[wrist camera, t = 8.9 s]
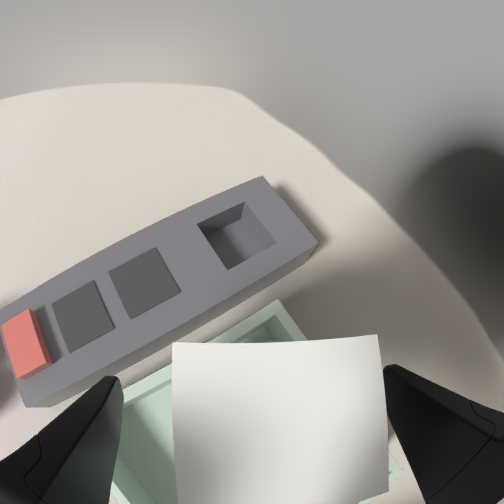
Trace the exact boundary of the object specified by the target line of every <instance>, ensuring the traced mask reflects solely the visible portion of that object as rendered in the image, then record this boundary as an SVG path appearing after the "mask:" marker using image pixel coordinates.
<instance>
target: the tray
mask: <svg viewBox="0 0 504 504" xmlns="http://www.w3.org/2000/svg"><path fill="white" fill-rule="evenodd" d="M294 341H308V340H307V338H306V337H305V336H304V334H303V333H302V332H301V330H300V329H299V327H298V326H297V325H296V323H295V322H294V321H293V319H292V318H291V316H290V315H289V314H288V312H287V311H286V309H285V308H284V307H283V305H282V304H281V303H280V301H279V300H278V299H276V300H275V301H273V302H272V303H270V304H269V305H267V306H266V307H264V308H262V309H261V310H259V311H258V312H256V313H255V314H253V315H251V316H250V317H248V318H247V319H245V320H243V321H242V322H240V323H239V324H237V325H235V326H234V327H232V328H230V329H229V330H227V331H226V332H224V333H222V334H221V335H219V336H217V337H216V338H214V339H212V340H211V341H209V342H207V343H272V342H294ZM122 391H123V395H124V404H123V413H122V423H121V434H120V442H119V447H118V452H117V457H116V462H115V468H114V473H113V479H112V485H111V491H110V493H111V494H112V496H113V497H114V498H115V499H116V501H117V502H118V503H119V504H178V496H177V486H176V474H175V461H174V444H173V421H172V363H171V364H169V365H167V366H166V367H164V368H162V369H160V370H158V371H157V372H155V373H153V374H151V375H149V376H147V377H146V378H144V379H142V380H140V381H138V382H136V383H134V384H133V385H131V386H129V387H127V388H125V389H123V390H122ZM402 471H403V469H402V467H401V466H400V465H399V463H398V462H397V461H396V459H395V458H394V457H393V455H392V454H391V453H390V451H389V484H390V483H391V482H392V481H393V480H394V479H395V478H396V477H397V476H398V475H399V474H400V473H401V472H402ZM375 497H376V496H375ZM375 497H372V498H369V499H366V500H363V501H360V502H357V503H354V504H369V503H370V502H371V501H372V500H373V499H374V498H375Z"/></svg>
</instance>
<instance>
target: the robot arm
mask: <svg viewBox="0 0 504 504" xmlns="http://www.w3.org/2000/svg"><path fill="white" fill-rule="evenodd" d="M383 380H384V389H385V399H386V411H387V415H388V418H389V420H390V422H391V425H392V427H393V429H394V431H395V433H396V436H397V438H398V440H399V442H400V444H401V446H402V449H403V451H404V453H405V455H406V458H407V460H408V462H409V464H410V467H411V469H412V471H413V474H414V476H415V478H416V481H417V483H418V485H419V488H420V490H421V493H422V495H423V498H424V500H425V503H426V504H504V413H502V412H499V411H496V410H494V409H491V408H488V407H486V406H483V405H481V404H479V403H476V402H474V401H472V400H469V399H467V398H465V397H463V396H461V395H459V394H457V393H454V392H452V391H450V390H448V389H446V388H444V387H442V386H440V385H438V384H435V383H433V382H431V381H429V380H427V379H425V378H423V377H421V376H419V375H417V374H415V373H413V372H411V371H409V370H407V369H405V368H403V367H401V366H399V365H397V364H392V365H387V366H385V367H384V369H383ZM123 404H124V395H123V391H122V388H121V384H120V380H119V378H118V377H116V376H109V375H106V376H104V377H103V378H102V379H101V380H100V381H98V382H97V383H96V384H95V385H94V386H93V387H91V388H90V389H89V390H88V391H87V392H85V393H84V394H83V395H82V396H81V397H80V398H78V399H77V400H76V401H75V402H74V403H73V404H71V405H70V406H69V407H68V408H67V409H66V410H64V411H63V412H62V413H61V414H60V415H58V416H57V417H56V418H55V419H54V420H53V421H51V422H50V423H49V424H48V425H47V426H46V427H44V428H43V429H42V430H41V431H40V432H39V433H38V435H37V434H36V435H35V436H34V437H33V438H31V439H30V440H29V441H28V442H26V443H25V444H24V445H23V446H21V447H20V448H19V449H18V450H16V451H15V452H13V453H12V454H10V455H9V456H7V457H6V458H4V459H3V460H1V461H0V504H109V497H110V491H111V485H112V479H113V473H114V468H115V462H116V457H117V452H118V447H119V442H120V434H121V423H122V413H123Z"/></svg>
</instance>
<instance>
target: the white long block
mask: <svg viewBox="0 0 504 504" xmlns="http://www.w3.org/2000/svg"><path fill="white" fill-rule="evenodd" d="M172 421H173V444H174V461H175V474H176V486H177V496H178V504H354V503H357V502H360V501H363V500H366V499H369V498H372V497H375V496H377V495H380V494H383V493H385V492H388V491H389V448H388V426H387V411H386V399H385V389H384V380H383V371H382V363H381V356H380V349H379V342H378V336H377V334H374V335H366V336H357V337H347V338H336V339H324V340H311V341H294V342H272V343H186V342H172Z"/></svg>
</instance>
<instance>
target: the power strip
mask: <svg viewBox="0 0 504 504" xmlns="http://www.w3.org/2000/svg"><path fill="white" fill-rule="evenodd" d="M317 245H318V241H317V240H316V239H315V238H314V236H313V235H312V234H311V233H310V232H309V230H308V229H307V228H306V227H305V225H304V224H303V223H302V222H301V221H300V219H299V218H298V217H297V216H296V215H295V213H294V212H293V211H292V210H291V209H290V207H289V206H288V205H287V204H286V203H285V201H284V200H283V199H282V198H281V197H280V196H279V194H278V193H277V192H276V191H275V190H274V189H273V187H272V186H271V185H270V184H269V183H268V182H267V181H266V179H265V178H264V177H263V176H260V177H257V178H255V179H252V180H250V181H247V182H245V183H243V184H240V185H238V186H235V187H233V188H231V189H228V190H226V191H224V192H221V193H219V194H217V195H215V196H212V197H210V198H208V199H206V200H203V201H201V202H199V203H197V204H194V205H192V206H190V207H188V208H186V209H184V210H181V211H179V212H177V213H175V214H173V215H171V216H169V217H167V218H164V219H162V220H160V221H158V222H156V223H154V224H152V225H150V226H148V227H146V228H144V229H142V230H140V231H138V232H136V233H134V234H132V235H130V236H128V237H126V238H124V239H122V240H120V241H118V242H117V243H115V244H113V245H111V246H109V247H107V248H105V249H103V250H101V251H100V252H98V253H96V254H94V255H92V256H90V257H89V258H87V259H85V260H83V261H81V262H80V263H78V264H76V265H74V266H72V267H71V268H69V269H67V270H65V271H64V272H62V273H60V274H59V275H57V276H55V277H53V278H52V279H50V280H48V281H47V282H45V283H43V284H42V285H40V286H38V287H37V288H35V289H34V290H32V291H30V292H29V293H27V294H26V295H24V296H22V297H21V298H19V299H18V300H16V301H15V302H13V303H11V304H10V305H8V306H7V307H5V308H4V309H2V310H1V311H0V333H1V337H2V341H3V345H4V348H5V352H6V355H7V358H8V361H9V365H10V368H11V371H12V373H13V376H14V379H15V382H16V384H17V387H18V390H19V392H20V395H21V397H22V400H23V402H24V404H25V407H52V406H54V405H56V404H58V403H60V402H62V401H64V400H66V399H68V398H70V397H72V396H74V395H76V394H78V393H80V392H82V391H84V390H86V389H88V388H90V387H92V386H94V385H95V384H96V383H97V382H98V381H100V380H101V379H102V378H103V377H104V376H106V375H109V376H113V375H115V374H116V373H118V372H120V371H122V370H124V369H126V368H128V367H130V366H131V365H133V364H135V363H137V362H139V361H141V360H142V359H144V358H146V357H148V356H150V355H151V354H153V353H155V352H157V351H159V350H160V349H162V348H164V347H166V346H168V345H169V344H171V343H172V342H175V341H176V340H178V339H180V338H182V337H183V336H185V335H187V334H189V333H190V332H192V331H194V330H196V329H197V328H199V327H201V326H203V325H204V324H206V323H208V322H209V321H211V320H213V319H215V318H216V317H218V316H220V315H221V314H223V313H225V312H226V311H228V310H230V309H231V308H233V307H235V306H236V305H238V304H240V303H241V302H243V301H245V300H246V299H248V298H250V297H251V296H253V295H255V294H256V293H258V292H259V291H261V290H263V289H264V288H266V287H268V286H269V285H271V284H272V283H274V282H276V281H277V280H279V279H280V278H282V277H284V276H285V275H287V274H288V273H290V272H292V271H293V270H295V269H296V268H298V267H299V266H301V265H303V264H304V263H305V261H306V260H307V259H308V257H309V256H310V254H311V253H312V252H313V250H314V249H315V248H316V246H317Z"/></svg>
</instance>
